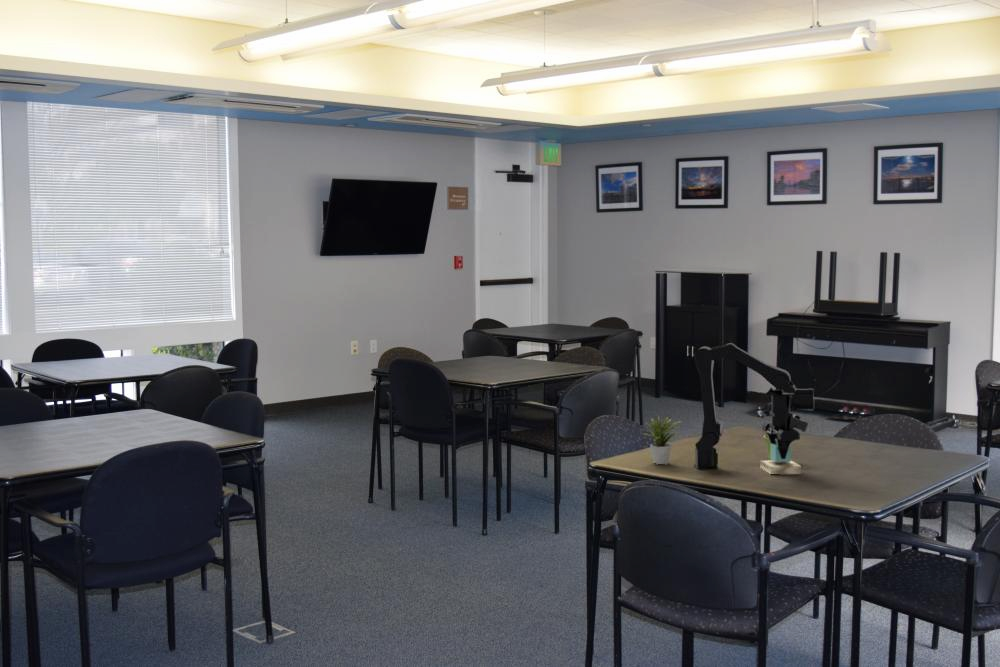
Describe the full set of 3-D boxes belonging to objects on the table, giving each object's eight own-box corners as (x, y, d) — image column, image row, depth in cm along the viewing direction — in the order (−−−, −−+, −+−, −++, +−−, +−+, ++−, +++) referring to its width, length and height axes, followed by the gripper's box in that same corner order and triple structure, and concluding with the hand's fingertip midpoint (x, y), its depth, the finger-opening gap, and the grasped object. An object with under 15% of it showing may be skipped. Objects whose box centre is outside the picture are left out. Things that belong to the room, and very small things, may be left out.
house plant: (679, 469, 329) (679, 419, 328) (637, 467, 334) (637, 418, 332) (685, 460, 343) (685, 413, 341) (645, 458, 347) (645, 411, 346)
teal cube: (775, 462, 322) (775, 446, 321) (770, 459, 327) (770, 443, 326) (790, 461, 322) (791, 446, 322) (785, 458, 327) (785, 443, 327)
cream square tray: (770, 474, 319) (770, 466, 319) (760, 468, 329) (760, 460, 329) (801, 473, 320) (801, 465, 320) (790, 467, 330) (790, 459, 330)
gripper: (816, 413, 314) (815, 462, 315) (794, 404, 333) (794, 450, 334) (781, 413, 313) (781, 463, 315) (761, 405, 332) (761, 451, 333)
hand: (780, 457), depth 324 cm, fingers closed on teal cube, 5 cm apart
